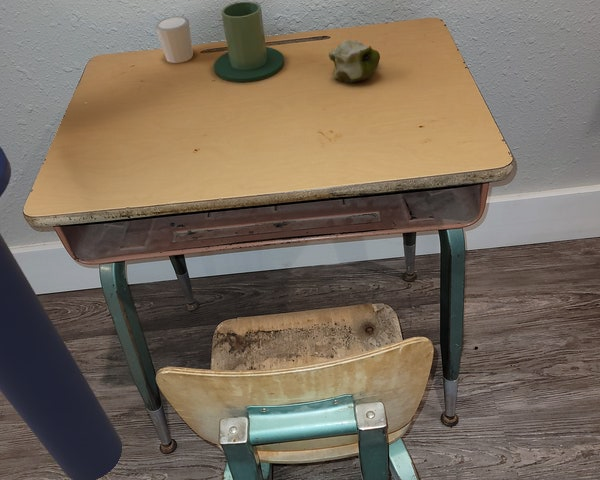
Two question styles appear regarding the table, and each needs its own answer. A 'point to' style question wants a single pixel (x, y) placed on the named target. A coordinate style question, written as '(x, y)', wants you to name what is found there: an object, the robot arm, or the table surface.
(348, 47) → the grey and green rock
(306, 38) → the table surface
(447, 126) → the table surface
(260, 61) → the green cup
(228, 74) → the green mat
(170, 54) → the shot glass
